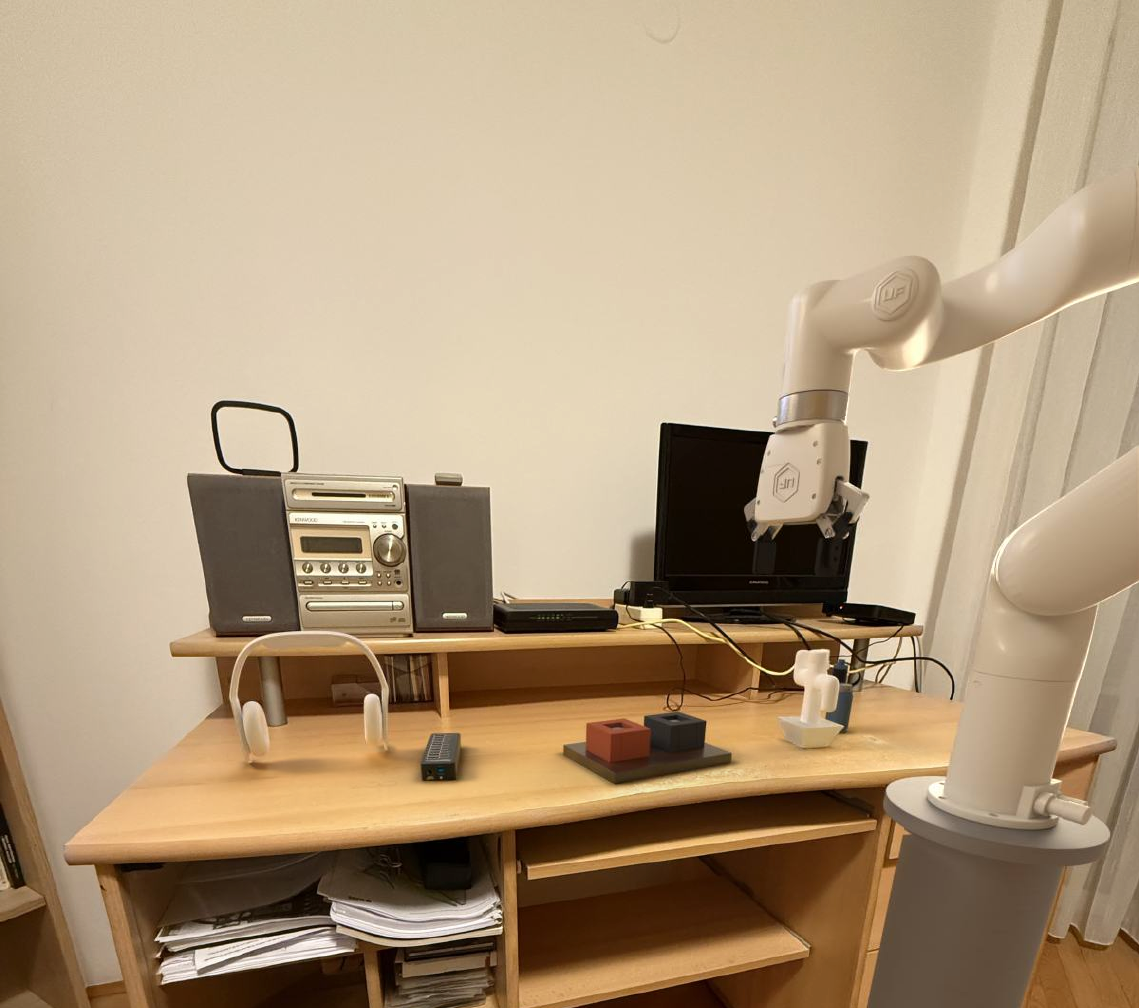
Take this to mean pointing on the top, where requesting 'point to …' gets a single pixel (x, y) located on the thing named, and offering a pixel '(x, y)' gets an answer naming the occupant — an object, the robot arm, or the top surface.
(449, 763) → the multiport hub
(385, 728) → the headset
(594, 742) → the red square holed block
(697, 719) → the dark grey hollow block
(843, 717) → the vaping device
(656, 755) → the pegboard
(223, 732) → the top surface
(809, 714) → the figurine
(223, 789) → the top surface
